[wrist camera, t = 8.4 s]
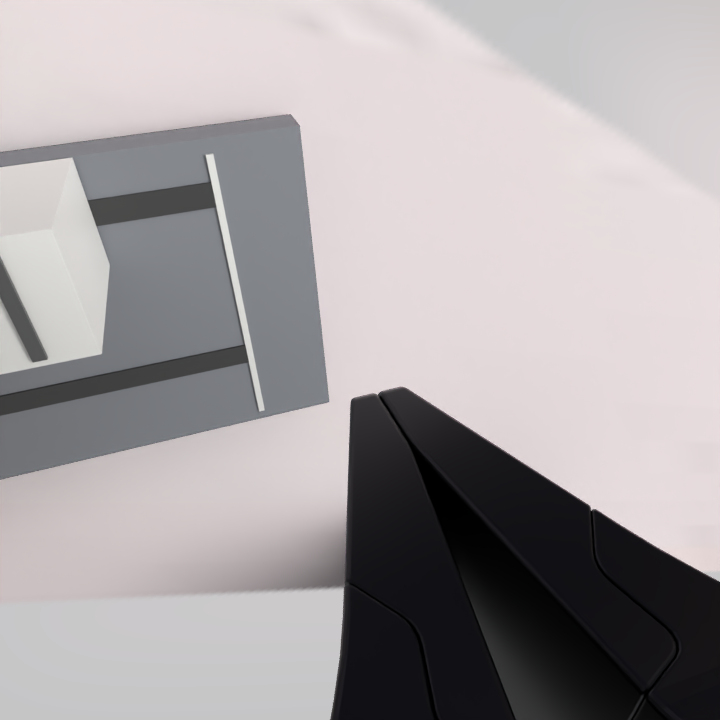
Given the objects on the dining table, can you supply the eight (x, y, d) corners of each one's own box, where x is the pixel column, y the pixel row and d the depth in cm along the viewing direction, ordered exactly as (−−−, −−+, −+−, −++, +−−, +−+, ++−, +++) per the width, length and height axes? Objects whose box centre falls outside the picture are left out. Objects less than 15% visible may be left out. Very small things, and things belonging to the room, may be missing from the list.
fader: (109, 264, 16) (101, 356, 13) (17, 280, 16) (-17, 380, 12) (72, 157, 14) (50, 230, 11) (-34, 171, 14) (-91, 253, 10)
